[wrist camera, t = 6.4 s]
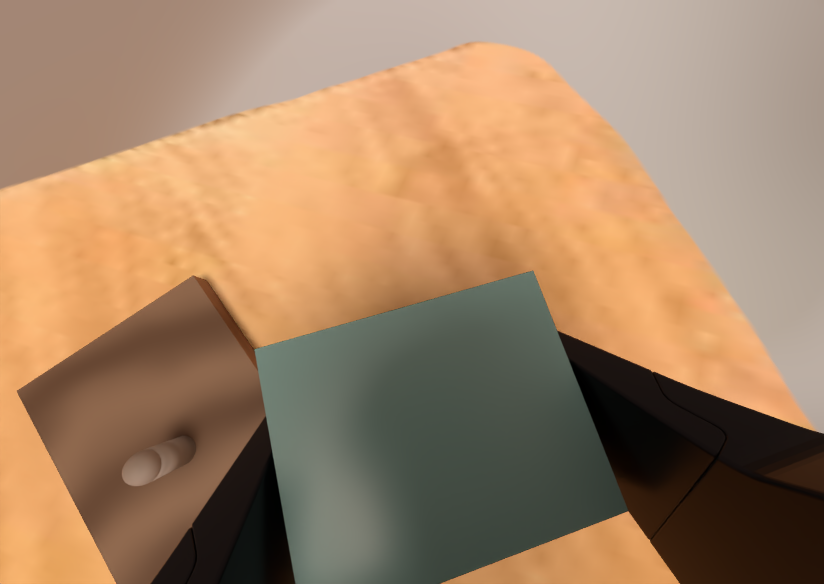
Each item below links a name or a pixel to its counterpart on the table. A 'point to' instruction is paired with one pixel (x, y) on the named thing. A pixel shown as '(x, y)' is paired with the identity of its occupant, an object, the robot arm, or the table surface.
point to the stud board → (149, 423)
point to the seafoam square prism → (432, 439)
